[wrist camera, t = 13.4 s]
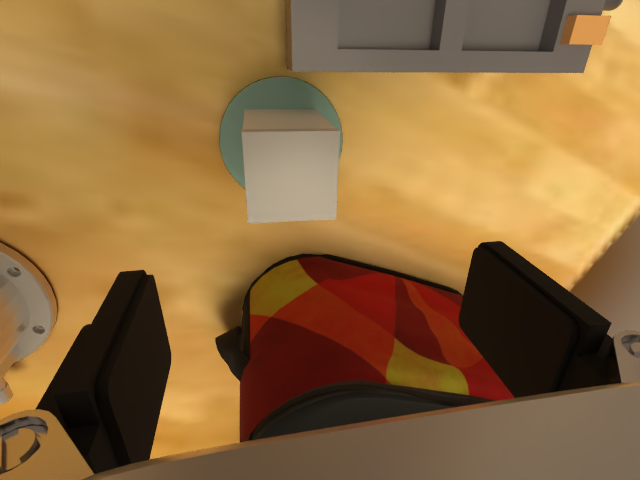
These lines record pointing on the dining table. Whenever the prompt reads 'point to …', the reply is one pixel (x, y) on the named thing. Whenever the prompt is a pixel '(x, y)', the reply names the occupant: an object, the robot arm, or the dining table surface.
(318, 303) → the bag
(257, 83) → the coaster
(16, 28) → the dining table surface
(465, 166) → the dining table surface
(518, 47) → the power strip
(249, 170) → the block
